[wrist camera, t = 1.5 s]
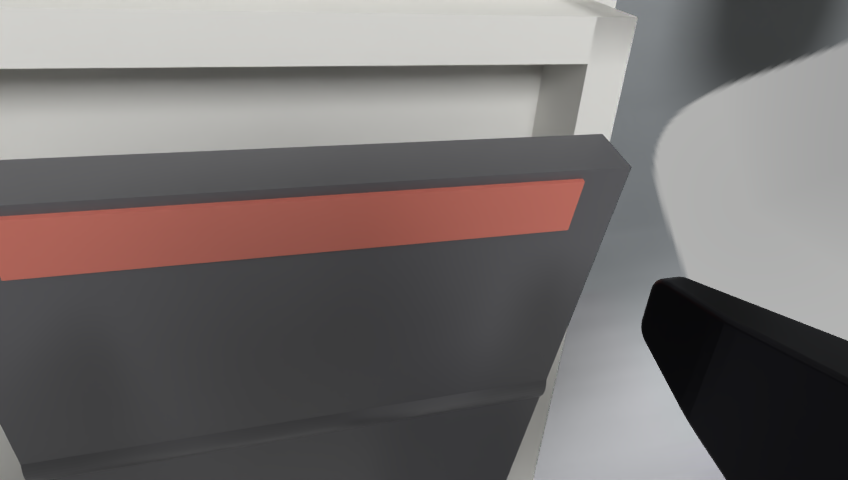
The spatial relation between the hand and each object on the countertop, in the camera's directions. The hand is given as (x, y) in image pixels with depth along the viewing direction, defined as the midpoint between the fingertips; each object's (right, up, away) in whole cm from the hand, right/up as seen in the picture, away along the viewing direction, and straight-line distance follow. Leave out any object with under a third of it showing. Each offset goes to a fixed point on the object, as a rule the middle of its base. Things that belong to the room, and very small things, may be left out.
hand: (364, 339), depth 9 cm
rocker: (-2, -3, +7) cm, 8 cm away
